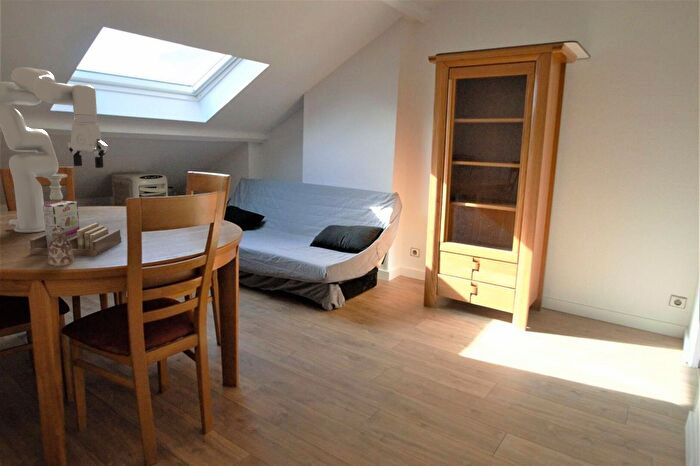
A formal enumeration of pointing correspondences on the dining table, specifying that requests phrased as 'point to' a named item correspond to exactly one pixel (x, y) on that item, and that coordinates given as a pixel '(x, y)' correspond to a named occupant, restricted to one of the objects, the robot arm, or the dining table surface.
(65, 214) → the candy bar box
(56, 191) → the candle holder
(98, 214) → the dining table surface
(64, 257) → the figurine
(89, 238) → the offcuts
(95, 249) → the rack
